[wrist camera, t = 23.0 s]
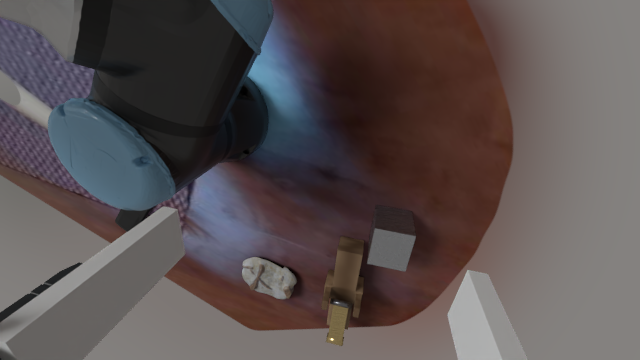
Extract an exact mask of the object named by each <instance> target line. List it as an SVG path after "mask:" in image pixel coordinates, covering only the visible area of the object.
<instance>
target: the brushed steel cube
mask: <svg viewBox="0 0 640 360" xmlns="http://www.w3.org/2000/svg"><path fill="white" fill-rule="evenodd" d="M415 239H416V232H415V227H414V221H413V215H412V211H408V210H402V209H397V208H391V207H385V206H380V205H376V207H375V212H374V217H373V221H372V226H371V231H370V236H369V246H368V260H367V264H372V265H376V266H381V267H386V268H390V269H395V270H400V271H404V272H405V271H406V268H407V265H408V261H409V258H410V255H411V252H412V248H413V245H414V242H415Z"/></svg>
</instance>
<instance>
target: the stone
mask: <svg viewBox="0 0 640 360" xmlns="http://www.w3.org/2000/svg"><path fill="white" fill-rule="evenodd" d="M242 267H244V268H243V271H242V277H243V279H244V280H245V281H246V282H247V283H248V284H249V286H250V289H251V290H255V291H258V292H262V293H266V294H269V295H271V296H274V297H275V298H277V299H285V298H287V299H288V298H290V296H291V294H292V292H293V290H294V288H293V286H294V285H295V284H296V282H297V280H296V277H295V275H294V274H293V273H292V272H291V271H289V269H288V268H287V267H284V268H281V267H279V266H277V265H276V264H274V263H272V262H270V261H267V260H264V259H261V258H258V257H252V258H249V259H246V260H245V261H244V262H243V266H242Z"/></svg>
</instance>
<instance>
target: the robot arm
mask: <svg viewBox="0 0 640 360" xmlns="http://www.w3.org/2000/svg"><path fill="white" fill-rule="evenodd" d="M0 17H1V18H4V19H7V20H10V21H13V22H17V23H20V24H23V25H26V26H29V27H32V28H33V29H35V30H36V31H37V32H38V33H40V34H41V35H42V36H43V37H44V38H45V39H46V40H47V41H48V42H49V43H50V44H51V45H52V46H53V47H54V49H55V50H56V51H57V52H58V53H59V54H60V55H61V56H62V57H63V58H64V59H65V60H66V61H68V62H71V63H74V64H78V65H81V66H85V67H88V68H92V69H95V72H94V77H93V82H92V87H91V92H90V94H89V96H88V97H87V98H72V99H69V100H68V101H67V102H66V103H64V104H60V105H58V106H56V107H55V108H54V109H53V111H52V112H51V114H50V116H49V120H48V132H49V137H50V141H51V144H52V146H53V148H54V150H55V152H56V154H57V156H58V158H59V159H60V161H61V163H62V164H63V165H64V167H65V168H66V169H67V170H68V172H69V173H70V174H71V175H72V177H73V178H74V179H75V180H76V181H77V182H78V183H79V184H80V185H81V186H82V187H84V188H85V189H86V190H87V191H88V192H90V193H91V194H92V195H94V196H95V197H97V198H98V199H100V200H102V201H103V202H105V203H107V204H109V205H112V206H114V207H117V208H120V209H123V210H136V211H142V210H147V209H150V208H152V207H154V206H156V205H158V204H159V203H161V202H163V201H166V200H168V199H170V198H172V197H173V195H174V194H175V193H177V192H178V191H180V190H181V189H182V188H184V187H185V186H187V185H188V184H190V183H191V182H192V181H194V180H195V179H197V178H198V177H200V176H201V175H202V174H204V173H205V172H207V171H208V170H210V169H211V168H212V167H214V166H215V165H217V164H218V163H224V162H232V161H238V160H241V159H243V158H245V157H247V156H249V155H250V154H252V153H253V152H254V151H255V150H257V149H258V148H259V147H260V145H261V144H262V143H263V141H264V139H265V137H266V134H267V130H268V112H267V107H266V104H265V101H264V99H263V97H262V95H261V93H260V91H259V90H258V88H257V87H256V86H255V84H254V83H253V82H252V81H251V80H250V79H249V78H248V77H247V75H248V73H249V71H250V69H251V67H252V65H253V63H254V61H255V59H256V57H257V55H260V53H261V45H262V43H263V41H264V38H265V36H266V34H267V31H268V29H269V27H270V24H271V22H272V19H273V5H272V2H271V0H0ZM184 255H185V249H184V243H183V237H182V232H181V226H180V221H179V215H178V210H177V209H173V208H168V207H162V208H160V209H159V210H158V211H156V212H155V213H153V214H152V215H151V216H149V217H148V218H146V219H145V220H144V221H142V222H141V223H139V224H138V225H137V226H135V227H134V228H132V229H131V230H129V231H128V232H127V233H125V234H124V235H122V236H121V237H120V238H118V239H117V240H115V241H114V242H113V243H111V244H110V245H108V246H107V247H106V248H104V249H103V250H102V251H100V252H99V253H97V254H96V255H94V256H93V257H92V258H90V259H89V260H87V261H86V262H84V263H77V264H75V265H73V266H71V267H69V268H67V269H64V270H62V271H60V272H59V273H57V274H56V275H54V276H53V277H52V278H50V279H49V280H47V281H46V282H45V283H44V284H43V285H40V286H39V287H37V288H35V289H34V290H33V291H31V293H30V294H27V295H25V296H24V297H22V298H21V299H19V300H18V301H17V302H15V303H14V304H12V305H11V306H9V307H8V308H6V309H5V310H4V311H2V312H1V313H0V360H83V359H84V357H86V355H88V353H90V351H91V350H92V349H93V348H94V347H95V346H96V345H97V344H98V343H99V342H100V341H101V340H102V339H103V338H104V337H105V336H106V335H107V334H108V333H109V332H110V331H111V330H112V329H113V328H114V327H115V326H116V325H117V324H118V323H119V322H120V321H121V320H122V319H123V317H124V316H125V315H126V314H127V313H128V312H129V311H130V310H131V309H132V308H133V307H134V306H135V305H136V304H137V303H138V302H139V301H140V300H141V299H142V298H143V297H144V296H145V295H146V294H147V293H148V292H149V291H150V290H151V289H152V288H153V287H154V286H155V284H157V282H158V281H159V280H160V279H161V278H162V277H163V276H164V275H165V274H166V273H167V272H168V271H169V270H170V269H171V268H172V267H173V266H174V265H175V264H176V263H177V262H178V261H179V260H180V259H181V258H182V257H183V256H184ZM447 315H448V320H449V324H450V328H451V332H452V336H453V341H454V345H455V349H456V353H457V357H458V360H528V359H527V357H526V354H525V352H524V350H523V348H522V346H521V344H520V342H519V339H518V338H517V335H516V333H515V331H514V329H513V327H512V325H511V323H510V320H509V318H508V316H507V314H506V312H505V310H504V307H503V305H502V303H501V301H500V299H499V297H498V295H497V293H496V291H495V288H494V286H493V284H492V282H491V280H490V278H489V275H488V274H486V273H480V272H476V271H471V270H467V273H466V275H465V277H464V279H463V281H462V283H461V286H460V288H459V290H458V292H457V294H456V297H455V299H454V301H453V303H452V306H451V308H450V310H449V312H448V314H447Z"/></svg>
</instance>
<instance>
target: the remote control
mask: <svg viewBox="0 0 640 360" xmlns="http://www.w3.org/2000/svg"><path fill="white" fill-rule="evenodd" d="M150 209H151V208H150ZM150 209H147V210H142V211H136V210H123V209H121V210H120V212H119V214H118V216H117V218H116V220H115V222H116V223H117V224H118V225H119V226H120V227H121V228H123V229H124V230H125V231H127V232H128V231H129V230H131V229H132V228H134V227H135V226H137V225H138V224H139V223H141V222H142V221H143V220H144V218H145V217H146V215H147V214H148V212H149V210H150Z"/></svg>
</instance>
